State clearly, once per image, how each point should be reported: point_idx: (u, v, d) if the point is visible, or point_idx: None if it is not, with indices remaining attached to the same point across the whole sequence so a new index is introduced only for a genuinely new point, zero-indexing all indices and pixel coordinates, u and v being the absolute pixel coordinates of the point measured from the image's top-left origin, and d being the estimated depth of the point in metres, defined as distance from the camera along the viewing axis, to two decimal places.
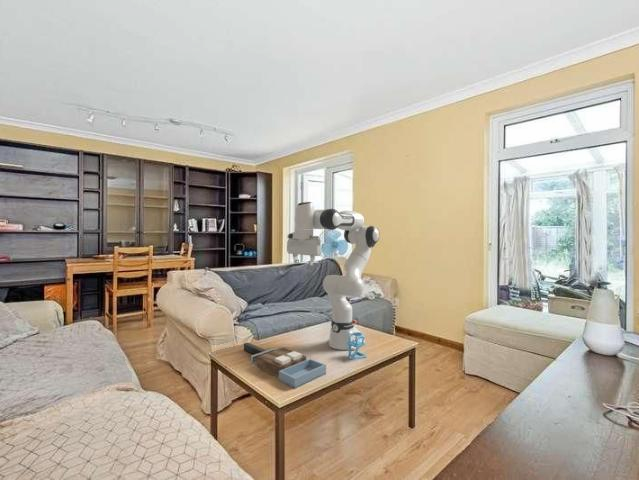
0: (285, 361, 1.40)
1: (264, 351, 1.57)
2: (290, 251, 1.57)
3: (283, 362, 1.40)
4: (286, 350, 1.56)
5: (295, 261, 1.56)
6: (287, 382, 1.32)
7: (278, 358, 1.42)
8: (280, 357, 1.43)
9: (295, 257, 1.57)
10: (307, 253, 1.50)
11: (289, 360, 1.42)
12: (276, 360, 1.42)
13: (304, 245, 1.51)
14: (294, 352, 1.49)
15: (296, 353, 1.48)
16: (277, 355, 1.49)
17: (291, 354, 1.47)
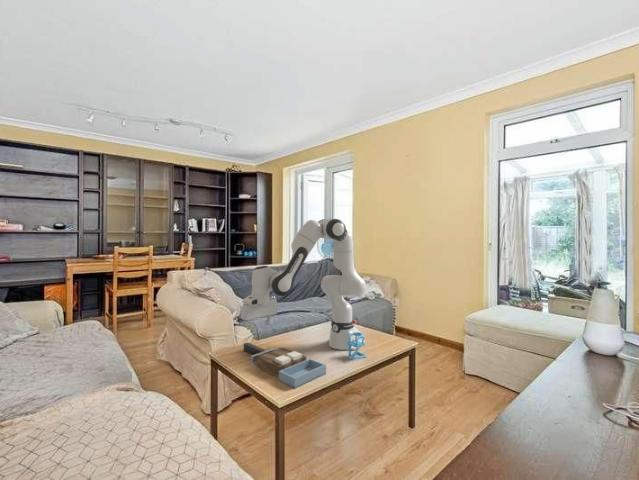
0: (285, 361, 1.40)
1: (264, 351, 1.57)
2: (249, 318, 1.52)
3: (283, 362, 1.40)
4: (286, 350, 1.56)
5: (253, 326, 1.55)
6: (287, 382, 1.32)
7: (278, 358, 1.42)
8: (280, 357, 1.43)
9: None
10: (268, 314, 1.61)
11: (289, 360, 1.42)
12: (276, 360, 1.42)
13: (265, 307, 1.59)
14: (294, 352, 1.49)
15: (296, 353, 1.48)
16: (277, 355, 1.49)
17: (291, 354, 1.47)
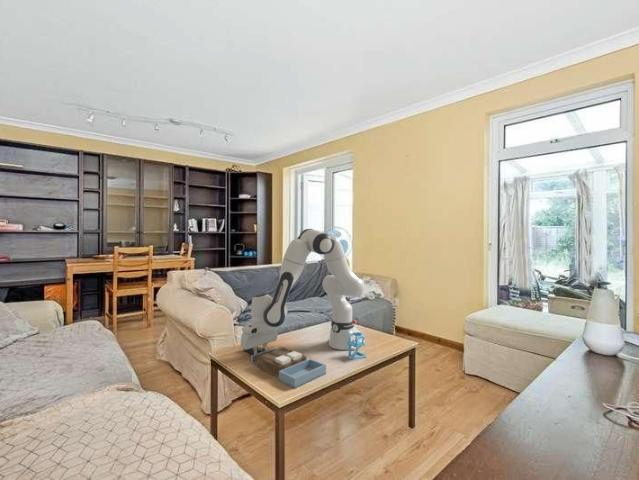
0: (285, 361, 1.40)
1: (264, 351, 1.57)
2: (249, 347, 1.53)
3: (283, 362, 1.40)
4: (286, 350, 1.56)
5: (257, 352, 1.58)
6: (287, 382, 1.32)
7: (278, 358, 1.42)
8: (280, 357, 1.43)
9: (255, 349, 1.58)
10: (268, 341, 1.61)
11: (289, 360, 1.42)
12: (276, 360, 1.42)
13: (264, 335, 1.60)
14: (294, 352, 1.49)
15: (296, 353, 1.48)
16: (277, 355, 1.49)
17: (291, 354, 1.47)
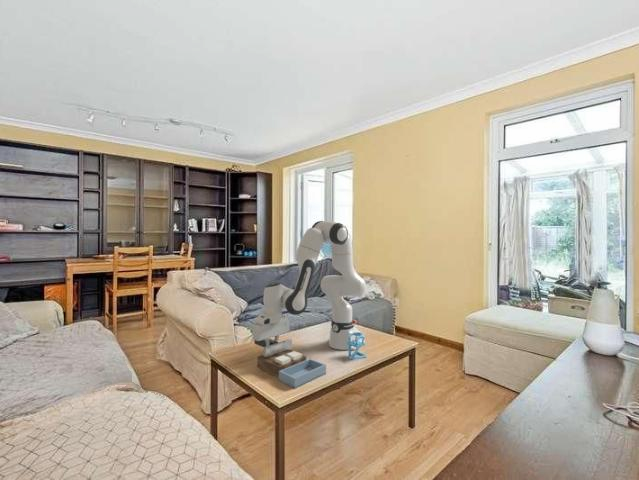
0: (285, 361, 1.40)
1: (277, 343, 1.50)
2: (261, 338, 1.46)
3: (283, 362, 1.40)
4: (286, 350, 1.56)
5: None
6: (287, 382, 1.32)
7: (278, 358, 1.42)
8: (280, 357, 1.43)
9: (267, 341, 1.51)
10: (281, 333, 1.55)
11: (289, 360, 1.42)
12: (276, 360, 1.42)
13: (277, 326, 1.53)
14: (294, 352, 1.49)
15: (296, 353, 1.48)
16: (277, 355, 1.49)
17: (291, 354, 1.47)
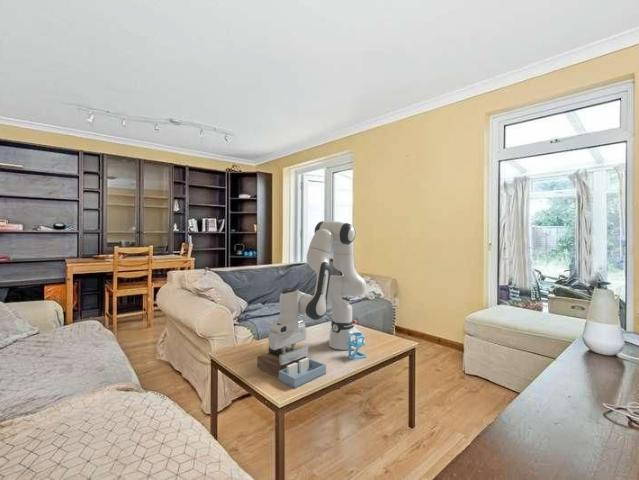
0: None
1: (292, 350, 1.43)
2: (278, 347, 1.38)
3: None
4: None
5: None
6: (287, 382, 1.32)
7: (290, 369, 1.36)
8: (293, 368, 1.37)
9: None
10: (297, 340, 1.47)
11: None
12: (287, 369, 1.36)
13: (293, 334, 1.45)
14: (307, 362, 1.44)
15: (306, 367, 1.44)
16: (277, 355, 1.49)
17: (302, 365, 1.42)
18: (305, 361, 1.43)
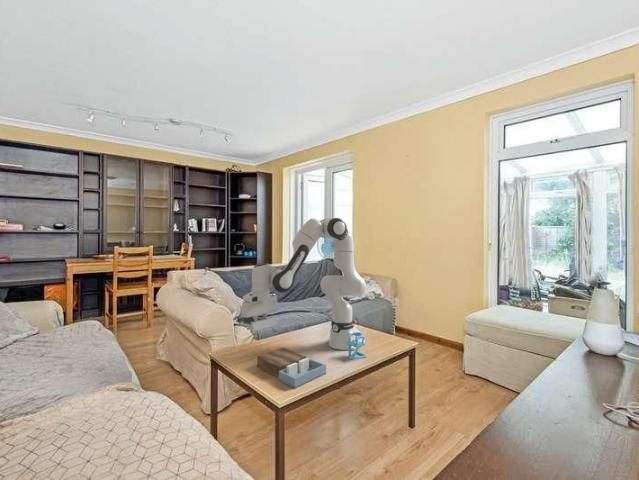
0: None
1: (264, 319, 1.57)
2: (249, 315, 1.52)
3: None
4: (286, 350, 1.56)
5: None
6: (287, 382, 1.32)
7: (290, 369, 1.36)
8: (292, 368, 1.37)
9: None
10: (269, 311, 1.61)
11: None
12: (287, 369, 1.36)
13: (265, 304, 1.59)
14: (307, 362, 1.44)
15: (306, 367, 1.44)
16: (277, 355, 1.49)
17: (302, 365, 1.42)
18: (305, 361, 1.43)
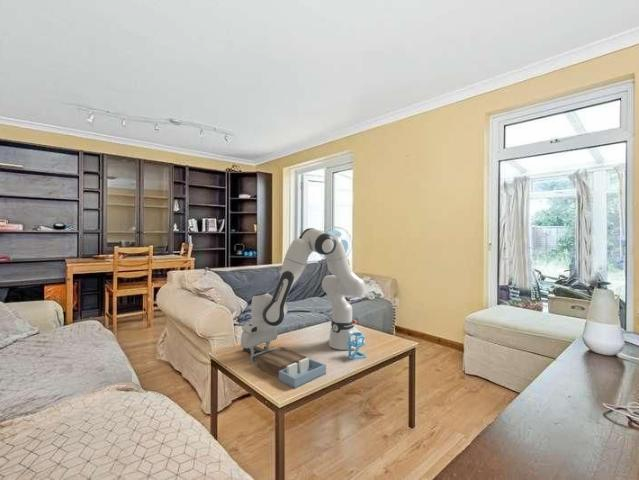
0: None
1: (264, 351, 1.57)
2: (249, 345, 1.53)
3: None
4: (286, 350, 1.56)
5: (254, 352, 1.56)
6: (287, 382, 1.32)
7: (290, 369, 1.36)
8: (292, 368, 1.37)
9: None
10: (268, 340, 1.61)
11: None
12: (287, 369, 1.36)
13: (264, 333, 1.60)
14: (307, 362, 1.44)
15: (306, 367, 1.44)
16: (277, 355, 1.49)
17: (302, 365, 1.42)
18: (305, 361, 1.43)
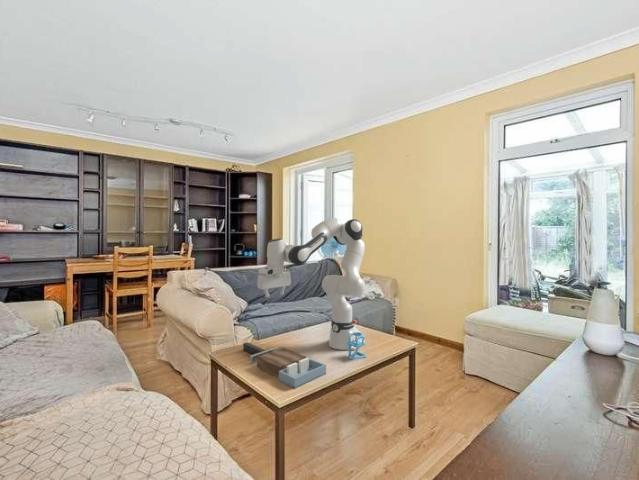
0: None
1: (264, 351, 1.57)
2: (265, 287, 1.60)
3: None
4: (286, 350, 1.56)
5: (268, 295, 1.63)
6: (287, 382, 1.32)
7: (290, 369, 1.36)
8: (292, 368, 1.37)
9: None
10: (283, 285, 1.69)
11: None
12: (287, 369, 1.36)
13: (279, 278, 1.67)
14: (307, 362, 1.44)
15: (306, 367, 1.44)
16: (277, 355, 1.49)
17: (302, 365, 1.42)
18: (305, 361, 1.43)
